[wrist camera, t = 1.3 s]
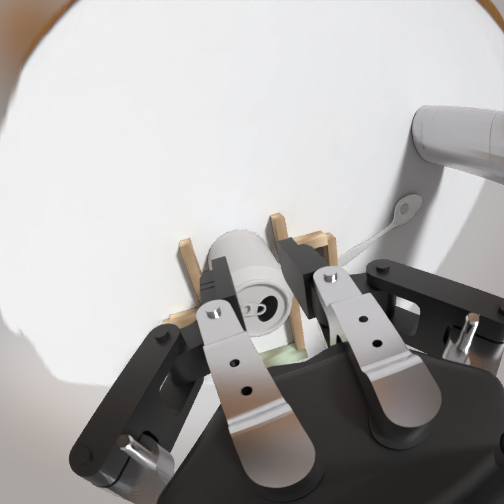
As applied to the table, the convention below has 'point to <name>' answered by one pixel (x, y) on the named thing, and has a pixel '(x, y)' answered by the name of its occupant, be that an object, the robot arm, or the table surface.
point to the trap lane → (328, 251)
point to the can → (255, 280)
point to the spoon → (399, 219)
